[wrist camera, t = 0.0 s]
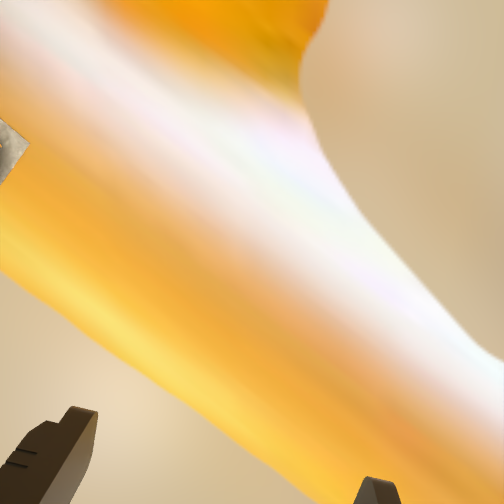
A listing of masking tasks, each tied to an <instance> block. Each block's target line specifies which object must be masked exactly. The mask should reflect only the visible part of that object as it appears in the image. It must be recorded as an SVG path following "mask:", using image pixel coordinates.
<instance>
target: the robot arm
mask: <svg viewBox="0 0 504 504" xmlns="http://www.w3.org/2000/svg"><path fill="white" fill-rule="evenodd" d="M97 420H98V412H97V411H92V410H88V409H84V408H80V407H75V406H71V407H70V408H69V409H68V411H67V412H66V413H65V415H64V416H63V418H62V419H61V421H60V422H59V423H55V422H51V421H45V422H43V423H42V424H40V425H39V426H37V427H35V428H34V429H32V430H31V431H29V432H28V433H27V435H26V436H25V437H24V438H23V440H22V441H21V442H20V444H19V445H18V446H17V448H16V450H15V451H13V452H12V454H11V455H10V456H9V458H8V459H7V460H6V463H5V464H4V465H2V467H1V468H0V504H70V502H71V500H72V498H73V496H74V494H75V492H76V490H77V488H78V486H79V485H80V483H81V481H82V479H83V477H84V475H85V473H86V471H87V468H88V466H89V463H90V459H91V456H92V452H93V446H94V438H95V432H96V426H97ZM353 504H401V501H400V498H399V495H398V492H397V489H396V487H395V485H394V483H393V482H390V481H385V480H381V479H377V478H373V477H368V476H367V477H365V478H364V480H363V482H362V485H361V487H360V489H359V491H358V494H357V496H356V498H355V501H354V503H353Z"/></svg>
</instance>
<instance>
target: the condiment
mask: <svg viewBox="0 0 504 504" xmlns="http://www.w3.org/2000/svg"><path fill="white" fill-rule="evenodd" d="M0 144H1V145H2V148H1V147H0V185H1V183H2V182H3V181H4V179H5V178H6V177H7V175H8V174H9V172H10V171H11V170H12V169H13V167H14V166H15V164H16V162H17V161H18V160H19V158H20V157H21V156H22V154H23V153H24V151H25V150H26V148H27V147H28V146H29V144H30V143H29V142H27V141H26V140H25V139H24V138H23V137H21V136H20V135H19V134H18V133H17V132H16V131H14V130H13V129H12V128H11V127H10V126H9V125H7V124H6V123H5V122H4V121H3V120H1V118H0Z"/></svg>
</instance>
